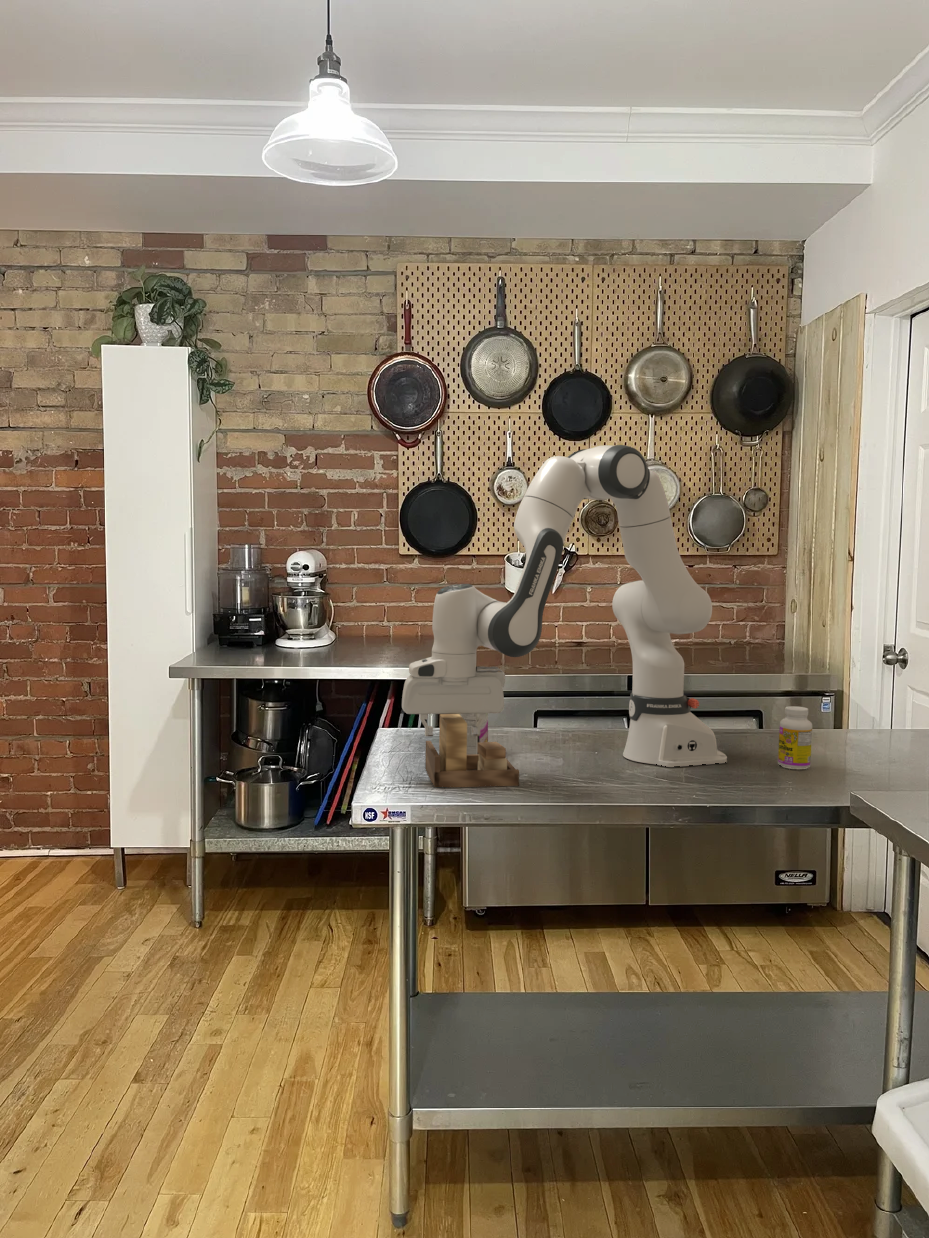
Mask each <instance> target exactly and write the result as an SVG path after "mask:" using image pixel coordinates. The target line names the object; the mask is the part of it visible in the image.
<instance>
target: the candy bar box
mask: <svg viewBox="0 0 929 1238" xmlns="http://www.w3.org/2000/svg"><path fill="white" fill-rule="evenodd" d="M460 715H461V717H462V718H463V719H464V720H465V721H466V723H467V754H479V753H478V752H477V744H478V743H480V742H489V713H486V720H485V722H484V723H483V725H482V726H481V727H480V736H472V726H476V724H477V722H478V720H479V717H478V714H460Z"/></svg>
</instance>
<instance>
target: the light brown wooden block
mask: <svg viewBox="0 0 929 1238" xmlns="http://www.w3.org/2000/svg"><path fill="white" fill-rule="evenodd" d="M438 732H439V735H438V736H439V738H438V740H439V743H438V745H439V747H438V754H439V756H440V771H462V770H466V761H467V723H466V721H465V720H464V719H463V718H462V717H461V715H460V714H439V731H438Z"/></svg>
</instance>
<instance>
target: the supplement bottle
mask: <svg viewBox="0 0 929 1238" xmlns="http://www.w3.org/2000/svg"><path fill="white" fill-rule="evenodd" d="M784 713H785V717H784V718H782V719H781V720H780V721H779V732H778V733H779V734H778V735H779V736H778V753H777V765H778V764H779V765H781V766H785V767H791V768H806V767H811V761H812V760H811V759H812V758H811V757H812V739H813V723H812V721H810V720H809V719H808V715H809V708H807V707H804V706H791V705H789V706H786V707H785V708H784ZM779 765H778V766H779Z"/></svg>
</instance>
